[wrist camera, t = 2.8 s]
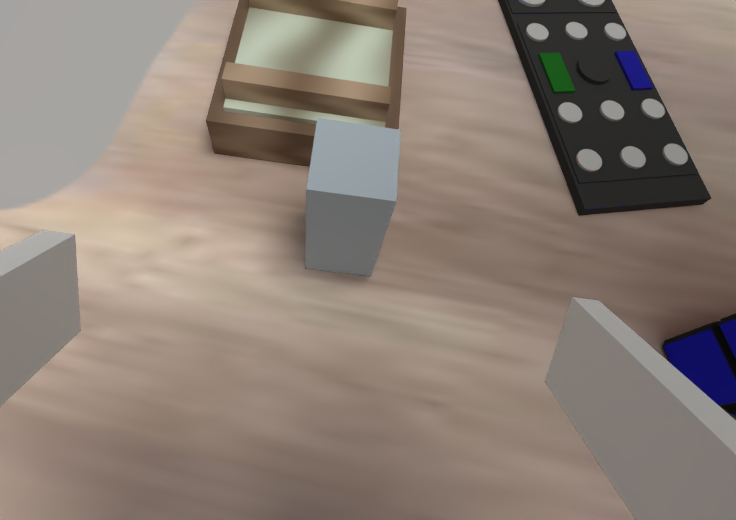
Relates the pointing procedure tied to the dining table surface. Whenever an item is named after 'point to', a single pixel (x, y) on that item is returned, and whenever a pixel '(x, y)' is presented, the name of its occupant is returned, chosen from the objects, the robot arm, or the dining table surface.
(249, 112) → the wooden tray
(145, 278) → the dining table surface
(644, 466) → the robot arm
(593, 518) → the dining table surface
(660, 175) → the remote control
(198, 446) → the dining table surface
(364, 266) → the slate block
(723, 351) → the puzzle cube
